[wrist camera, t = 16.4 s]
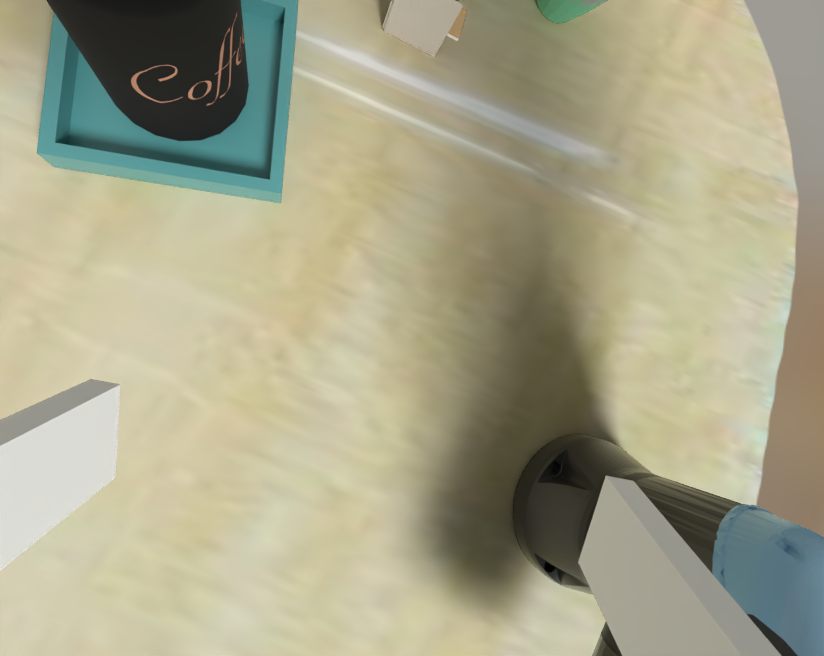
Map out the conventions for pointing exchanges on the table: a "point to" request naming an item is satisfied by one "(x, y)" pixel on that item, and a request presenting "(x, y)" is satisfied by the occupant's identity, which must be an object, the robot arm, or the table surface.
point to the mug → (566, 8)
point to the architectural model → (425, 22)
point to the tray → (166, 158)
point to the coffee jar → (165, 60)
